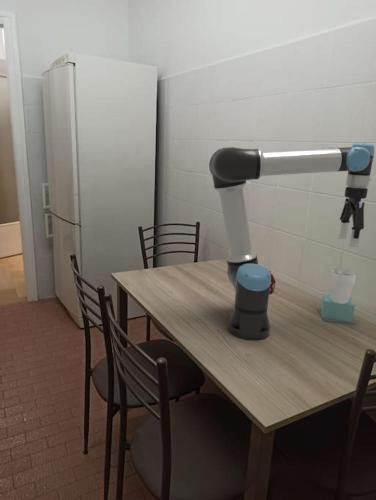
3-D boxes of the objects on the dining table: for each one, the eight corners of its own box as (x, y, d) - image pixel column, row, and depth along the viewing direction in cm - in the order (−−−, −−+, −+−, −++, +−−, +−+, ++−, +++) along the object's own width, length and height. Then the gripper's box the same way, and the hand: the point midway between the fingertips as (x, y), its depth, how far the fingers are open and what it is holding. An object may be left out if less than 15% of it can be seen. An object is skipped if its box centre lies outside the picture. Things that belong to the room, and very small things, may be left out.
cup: (347, 297, 148) (352, 269, 145) (354, 306, 139) (360, 276, 136) (324, 295, 148) (328, 267, 145) (330, 304, 140) (335, 274, 137)
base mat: (356, 324, 141) (356, 323, 140) (324, 321, 142) (324, 320, 142) (346, 311, 152) (346, 310, 152) (317, 309, 153) (317, 308, 153)
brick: (351, 322, 141) (354, 305, 139) (321, 317, 144) (324, 301, 142) (349, 313, 149) (351, 297, 148) (320, 309, 153) (323, 293, 151)
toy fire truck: (276, 294, 168) (279, 273, 166) (250, 294, 167) (252, 272, 164) (272, 288, 175) (274, 268, 172) (247, 288, 174) (248, 268, 171)
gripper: (380, 190, 122) (369, 251, 127) (356, 185, 146) (347, 236, 151) (357, 189, 122) (347, 249, 128) (336, 184, 146) (329, 235, 152)
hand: (347, 242), depth 139 cm, fingers open, 13 cm apart
